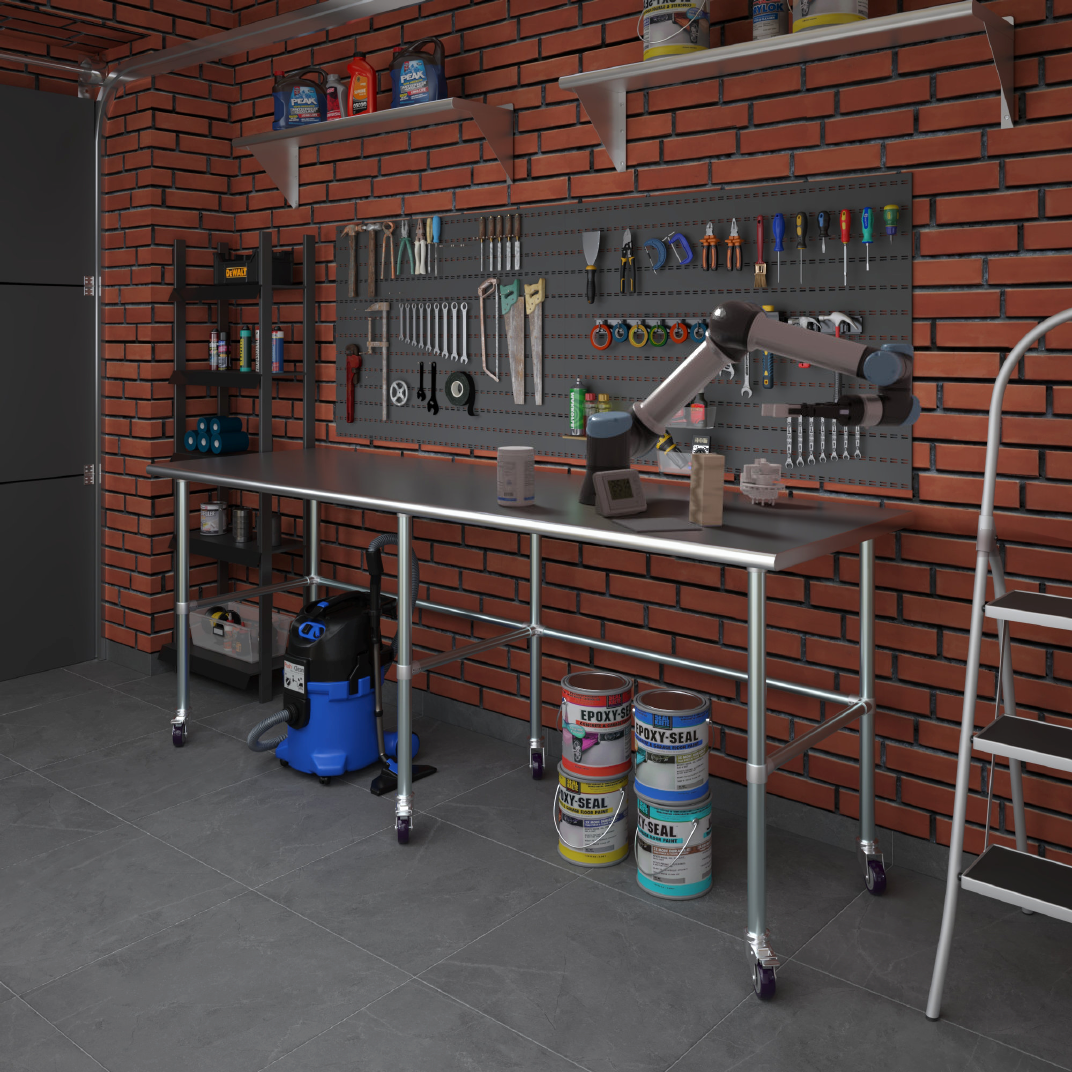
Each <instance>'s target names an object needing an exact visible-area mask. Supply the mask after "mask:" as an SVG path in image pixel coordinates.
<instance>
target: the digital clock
mask: <svg viewBox="0 0 1072 1072" xmlns="http://www.w3.org/2000/svg"><path fill="white" fill-rule="evenodd" d="M593 483H594V487H595V491H596V499H595V505H594V506H595V507H594V514H595V515H600V516H603V517H604V518H608V517H614V518H615V517H621V516H628V515H634V514H638V513H642V512H645V511H647V509H648V508H647V507H648V504H647V500H646V495H645V493H644V489H643V485H642V481H641V477H640V473H639V471H638V469H635V468H630V469H626V470H625V469H622V470H612V471H604V472H597V473H595V474H594V475H593Z"/></svg>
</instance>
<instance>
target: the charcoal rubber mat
mask: <svg viewBox="0 0 1072 1072" xmlns="http://www.w3.org/2000/svg"><path fill="white" fill-rule="evenodd" d="M611 522H613V523H614V524H617V525H619V526H621V527H624V528H626V529H628V530H631V531H633V532H635V533H653V532H654V533H655V532H659V533H660V532H680V531H682V532H685V531H687V532H689V531H702V530H703V527H701V526H698V525H695V524H693V523H690V522H686V521H683V520H681V519H678V518H675V517H650V518H623V519H622V518H621V519H619V518H618V519H617V518H616V519H613V518H612V519H611Z"/></svg>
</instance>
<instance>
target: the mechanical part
mask: <svg viewBox="0 0 1072 1072" xmlns="http://www.w3.org/2000/svg"><path fill="white" fill-rule="evenodd" d="M782 466H783V465H782V464H778V463H770V462H769V461H768V462H767V459H766V458H755V459H754V464H743V472H741V473H740V480H739V481H740V482H739V483H740V486H739V489H740V492H742V493H743V495H744V496H745V495H746V496H748V497H749V498H751V505H754V504H755V503H756V504H759V499H760V500H761V506H765V500H768V504H771V505H772V506H775V499H779V492H783V491H785V490H786V484H785V483H781V480H782ZM755 499H756V502H755Z"/></svg>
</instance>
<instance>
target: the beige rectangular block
mask: <svg viewBox="0 0 1072 1072" xmlns="http://www.w3.org/2000/svg"><path fill="white" fill-rule="evenodd" d="M690 459H691V460H690V461H691V462H690V463H691V464H690V481H689V482H690V485H689V486H690V488H689V508H688V509H689V510H688V511H689V514H688V523H689V524H692V525H695V526H697V527H700V528H703V527H706V528H707V527H722V526H723V506H724V485H725V460H726V456H725V455H722V454H718V453H717V454H716V453H710V452H709V453H706V452H705V453H704V452H703V453H691V456H690Z"/></svg>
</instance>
